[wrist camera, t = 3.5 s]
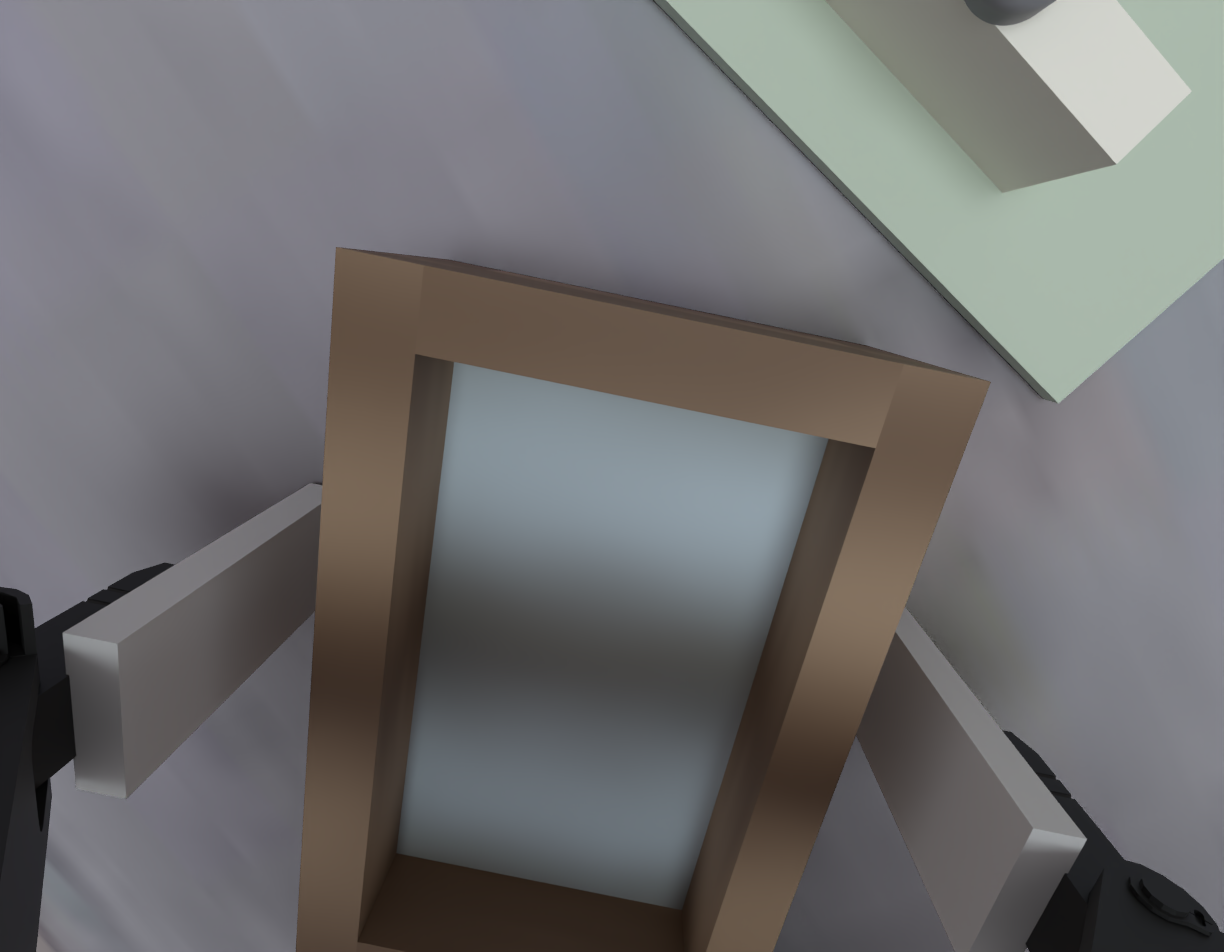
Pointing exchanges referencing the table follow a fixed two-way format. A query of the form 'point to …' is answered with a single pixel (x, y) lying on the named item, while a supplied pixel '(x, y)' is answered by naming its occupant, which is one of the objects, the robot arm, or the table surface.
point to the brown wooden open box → (595, 608)
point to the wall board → (1007, 149)
